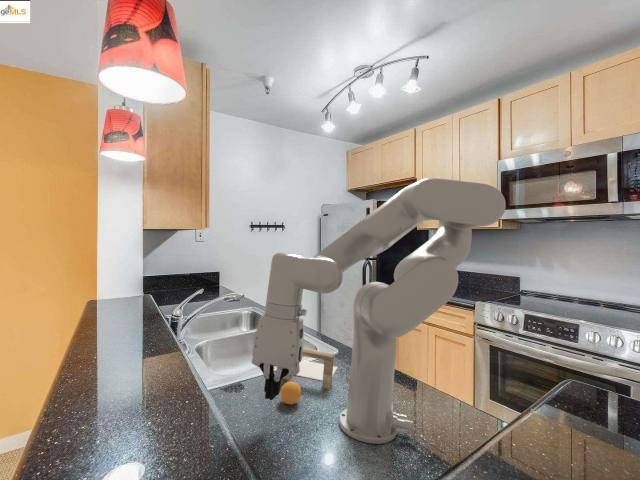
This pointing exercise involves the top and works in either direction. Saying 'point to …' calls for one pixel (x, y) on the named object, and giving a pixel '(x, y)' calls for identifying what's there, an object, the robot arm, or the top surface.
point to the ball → (290, 392)
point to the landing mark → (312, 370)
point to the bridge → (328, 365)
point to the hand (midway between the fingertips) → (271, 396)
